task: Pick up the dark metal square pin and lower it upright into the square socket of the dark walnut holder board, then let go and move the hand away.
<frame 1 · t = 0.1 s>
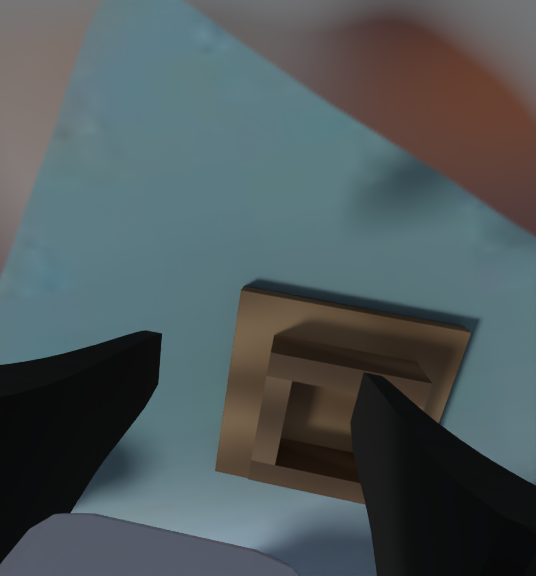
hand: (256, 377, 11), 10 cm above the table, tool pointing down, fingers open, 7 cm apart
socket holder: (328, 400, 23), on the table
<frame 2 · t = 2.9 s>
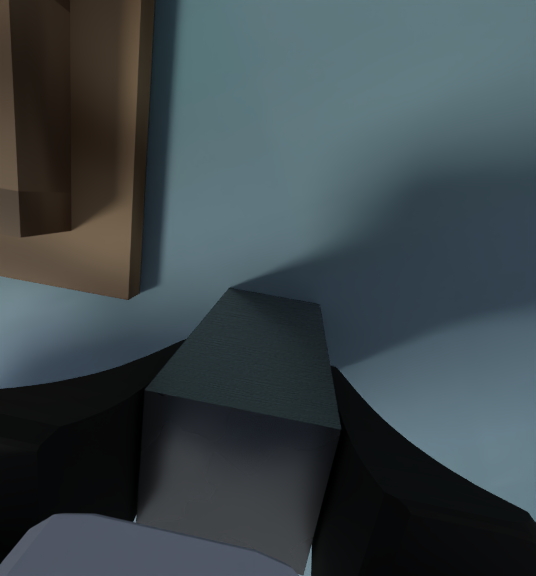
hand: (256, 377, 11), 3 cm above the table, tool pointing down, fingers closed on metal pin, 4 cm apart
metal pin: (266, 338, 15), on the table, touching gripper
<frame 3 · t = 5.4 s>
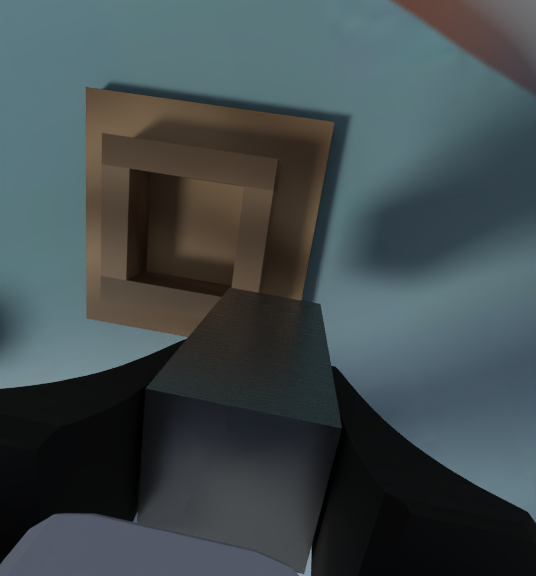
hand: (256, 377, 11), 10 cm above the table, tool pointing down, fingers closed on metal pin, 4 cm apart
socket holder: (201, 230, 21), on the table
metal pin: (267, 337, 15), point 7 cm above the table, touching gripper
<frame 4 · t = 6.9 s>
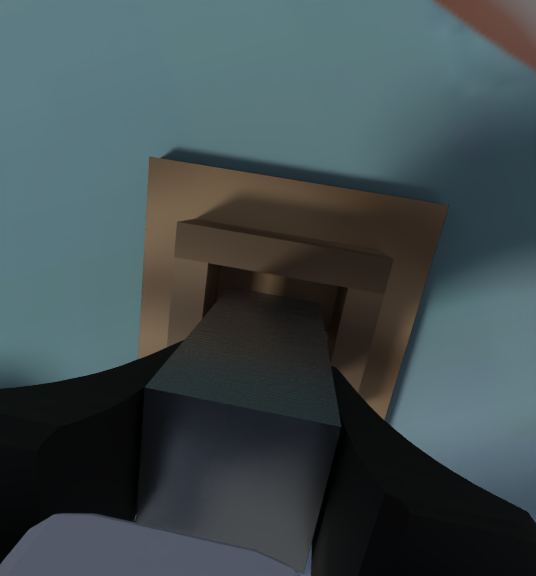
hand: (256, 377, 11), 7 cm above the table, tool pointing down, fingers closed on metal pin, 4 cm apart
socket holder: (272, 313, 18), on the table
metal pin: (267, 336, 15), point 3 cm above the table, touching gripper
when the fingers open (5 cm above the table, at t = 8.1 s): metal pin stays where it is, resting on socket holder.
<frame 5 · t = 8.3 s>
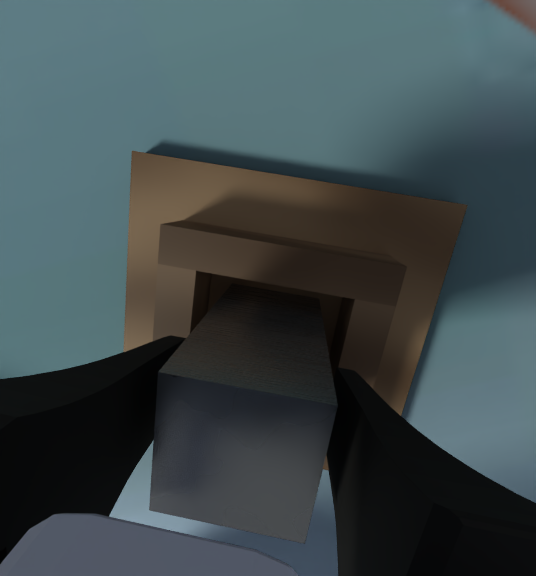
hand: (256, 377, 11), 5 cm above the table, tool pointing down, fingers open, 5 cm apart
socket holder: (270, 324, 16), on the table
metal pin: (268, 331, 15), point 1 cm above the table, touching socket holder
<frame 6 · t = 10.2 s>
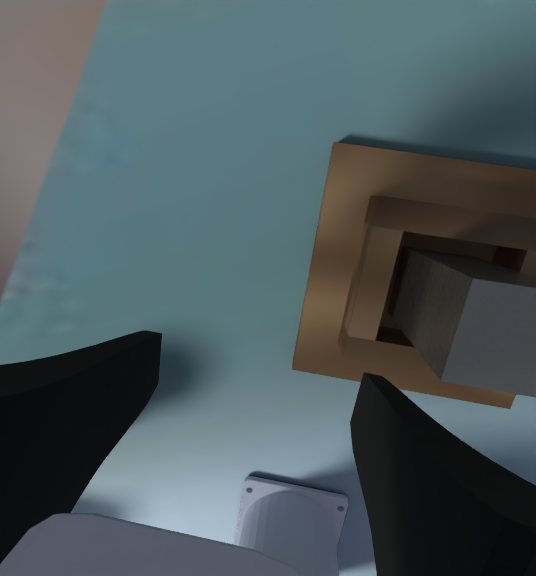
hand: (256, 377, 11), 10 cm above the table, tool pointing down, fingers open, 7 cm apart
socket holder: (423, 281, 20), on the table
metal pin: (429, 284, 19), point 1 cm above the table, touching socket holder
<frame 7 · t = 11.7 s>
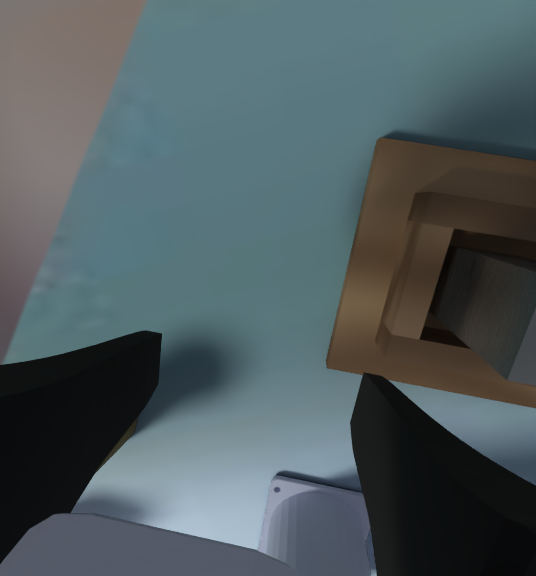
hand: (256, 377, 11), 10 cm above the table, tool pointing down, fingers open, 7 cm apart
socket holder: (462, 280, 20), on the table
metal pin: (471, 283, 19), point 1 cm above the table, touching socket holder
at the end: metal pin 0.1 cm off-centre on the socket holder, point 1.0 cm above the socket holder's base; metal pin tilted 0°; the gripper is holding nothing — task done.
